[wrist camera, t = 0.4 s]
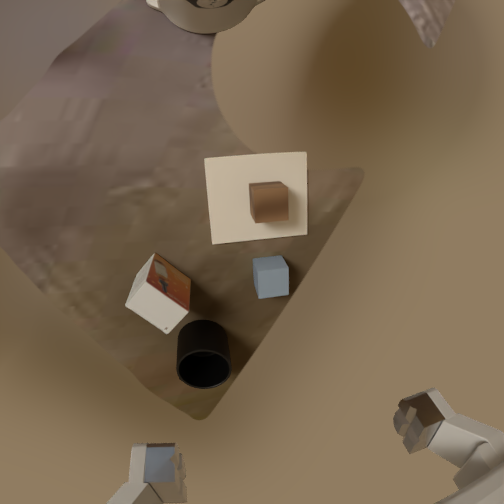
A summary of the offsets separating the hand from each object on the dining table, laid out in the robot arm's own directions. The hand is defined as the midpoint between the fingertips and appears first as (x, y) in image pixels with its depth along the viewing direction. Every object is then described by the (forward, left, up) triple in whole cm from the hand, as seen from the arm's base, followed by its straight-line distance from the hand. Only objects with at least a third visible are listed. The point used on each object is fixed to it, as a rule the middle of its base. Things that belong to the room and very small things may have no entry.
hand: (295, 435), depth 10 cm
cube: (+16, +7, -44) cm, 47 cm away
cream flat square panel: (+3, +6, -44) cm, 44 cm away
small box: (+15, -11, -44) cm, 48 cm away
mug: (+30, -7, -44) cm, 54 cm away
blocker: (+3, +7, -44) cm, 44 cm away
